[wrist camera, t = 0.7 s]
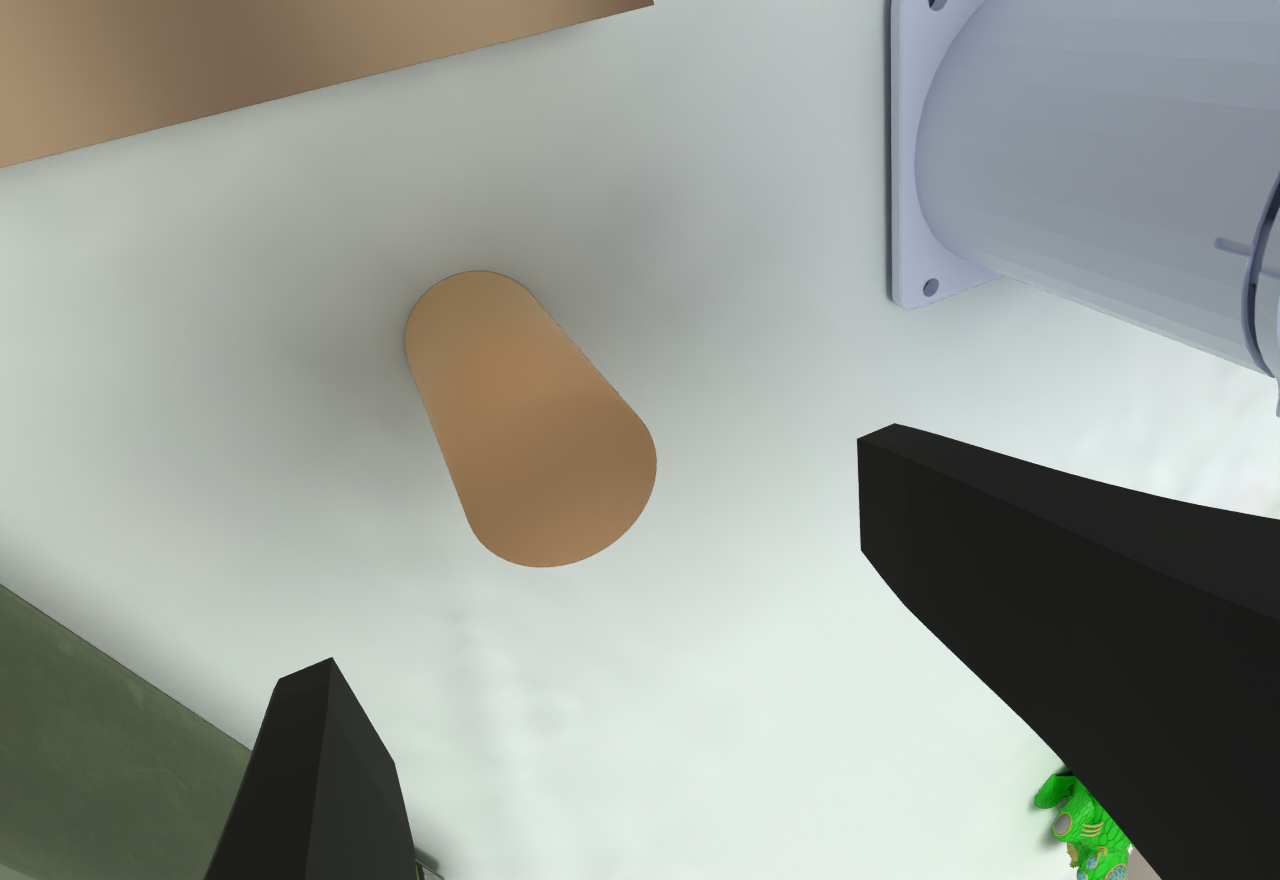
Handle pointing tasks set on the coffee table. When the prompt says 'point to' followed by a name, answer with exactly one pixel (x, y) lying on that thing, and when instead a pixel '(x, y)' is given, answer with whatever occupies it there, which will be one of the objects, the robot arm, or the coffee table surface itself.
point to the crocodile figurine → (1086, 830)
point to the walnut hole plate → (223, 56)
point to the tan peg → (526, 423)
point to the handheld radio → (103, 765)
